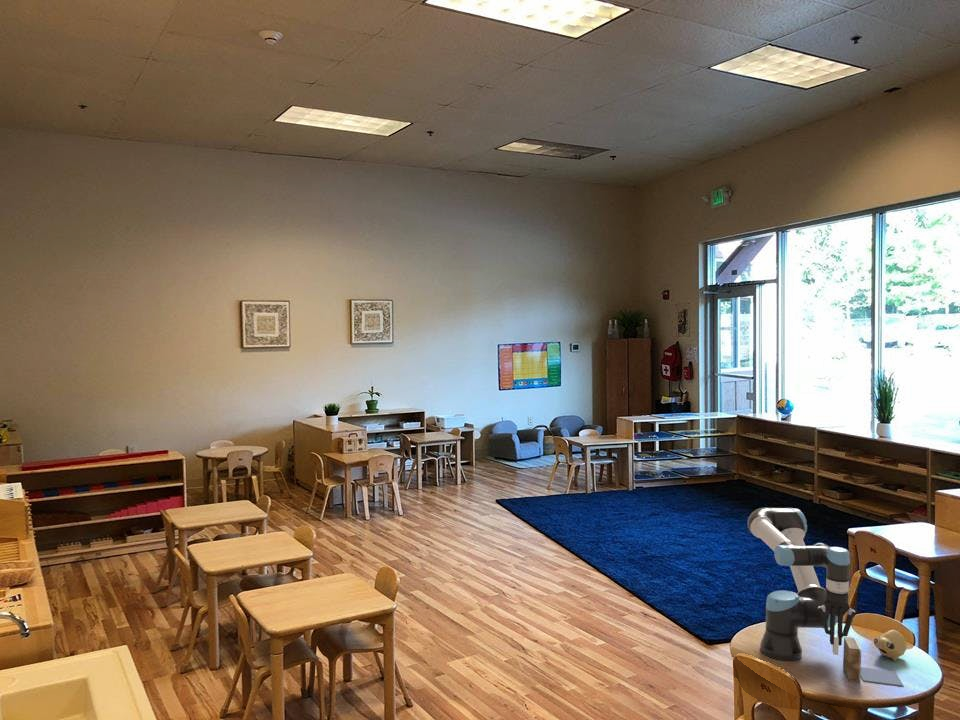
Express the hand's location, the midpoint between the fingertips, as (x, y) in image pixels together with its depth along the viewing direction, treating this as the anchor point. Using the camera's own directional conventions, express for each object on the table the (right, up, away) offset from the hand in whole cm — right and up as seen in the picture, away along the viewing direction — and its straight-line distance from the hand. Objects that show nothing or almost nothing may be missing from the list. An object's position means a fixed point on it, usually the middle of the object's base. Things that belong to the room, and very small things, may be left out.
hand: (835, 653), depth 269 cm
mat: (+15, -8, -2) cm, 17 cm away
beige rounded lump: (+27, -7, +13) cm, 31 cm away
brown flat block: (+6, -8, -1) cm, 10 cm away
